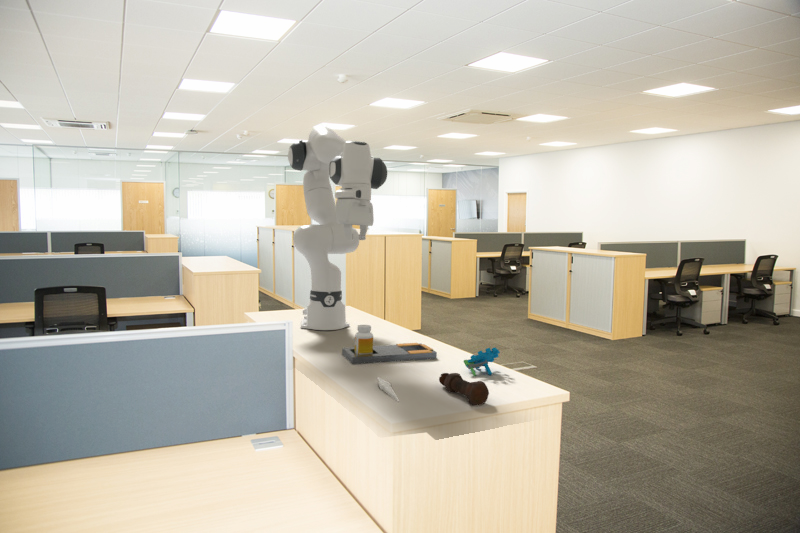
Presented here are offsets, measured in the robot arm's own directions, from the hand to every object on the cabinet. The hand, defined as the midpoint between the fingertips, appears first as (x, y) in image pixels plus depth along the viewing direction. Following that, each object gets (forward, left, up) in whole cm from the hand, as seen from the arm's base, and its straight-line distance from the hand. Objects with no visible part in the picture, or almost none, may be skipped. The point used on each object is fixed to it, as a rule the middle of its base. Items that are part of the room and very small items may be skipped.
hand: (355, 240), depth 158 cm
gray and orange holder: (+8, +9, -35) cm, 37 cm away
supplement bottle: (+8, +1, -35) cm, 36 cm away
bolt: (+46, +14, -35) cm, 60 cm away
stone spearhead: (+40, -2, -35) cm, 53 cm away
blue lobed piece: (+30, +28, -35) cm, 54 cm away
